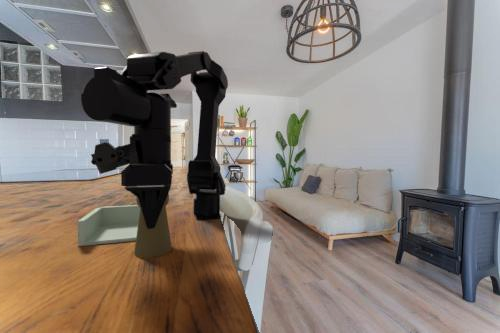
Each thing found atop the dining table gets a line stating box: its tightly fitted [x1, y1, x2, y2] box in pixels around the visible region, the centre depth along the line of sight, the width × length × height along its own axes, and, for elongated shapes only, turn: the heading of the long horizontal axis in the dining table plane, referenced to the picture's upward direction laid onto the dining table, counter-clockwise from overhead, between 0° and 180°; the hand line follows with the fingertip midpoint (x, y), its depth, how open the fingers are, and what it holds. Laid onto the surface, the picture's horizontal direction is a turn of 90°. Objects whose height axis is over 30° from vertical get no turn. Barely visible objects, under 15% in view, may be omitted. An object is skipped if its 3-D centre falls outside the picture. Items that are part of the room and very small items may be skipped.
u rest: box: [77, 204, 140, 247], centre depth 46 cm, size 11×11×5 cm
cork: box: [133, 193, 173, 259], centre depth 38 cm, size 6×6×11 cm
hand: (153, 219), depth 38 cm, fingers open, 9 cm apart
